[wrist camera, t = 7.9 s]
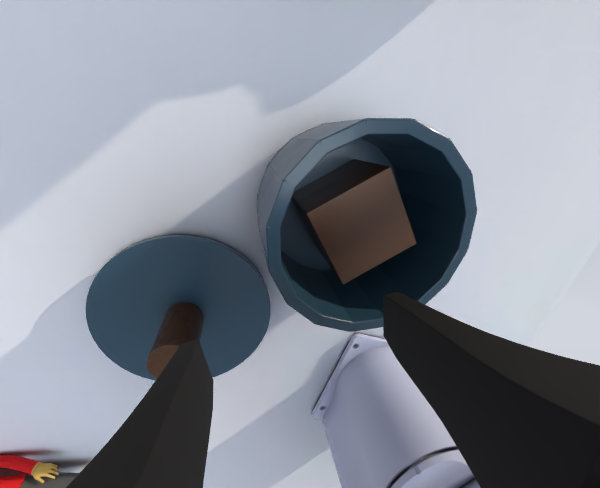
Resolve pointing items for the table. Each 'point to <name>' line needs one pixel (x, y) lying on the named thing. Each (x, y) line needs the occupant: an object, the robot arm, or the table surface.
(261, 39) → the table surface
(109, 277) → the tin lid
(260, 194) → the tin
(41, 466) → the person figure
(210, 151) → the table surface
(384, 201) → the block
